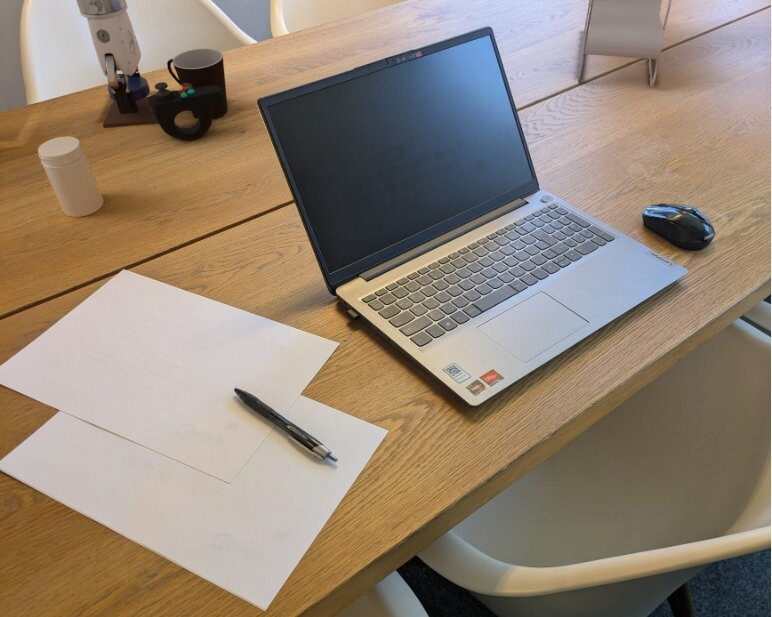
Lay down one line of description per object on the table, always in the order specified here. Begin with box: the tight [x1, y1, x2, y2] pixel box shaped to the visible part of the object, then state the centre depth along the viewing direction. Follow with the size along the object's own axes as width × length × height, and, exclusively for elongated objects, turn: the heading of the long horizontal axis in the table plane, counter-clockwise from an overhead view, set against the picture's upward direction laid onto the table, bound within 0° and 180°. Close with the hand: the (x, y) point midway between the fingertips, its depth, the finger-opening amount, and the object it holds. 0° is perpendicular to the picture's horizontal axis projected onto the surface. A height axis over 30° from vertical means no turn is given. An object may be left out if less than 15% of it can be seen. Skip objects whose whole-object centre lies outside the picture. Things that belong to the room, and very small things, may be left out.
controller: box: [148, 81, 225, 141], centre depth 111 cm, size 4×12×10 cm, turn 111°
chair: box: [577, 0, 672, 88], centre depth 124 cm, size 13×25×20 cm, turn 165°
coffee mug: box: [166, 48, 229, 121], centre depth 118 cm, size 12×9×10 cm
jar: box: [37, 136, 105, 218], centre depth 97 cm, size 6×6×10 cm
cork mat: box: [102, 96, 158, 128], centre depth 122 cm, size 10×10×1 cm
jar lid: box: [107, 76, 151, 101], centre depth 119 cm, size 7×7×2 cm
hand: (133, 102), depth 121 cm, fingers closed on jar lid, 6 cm apart
